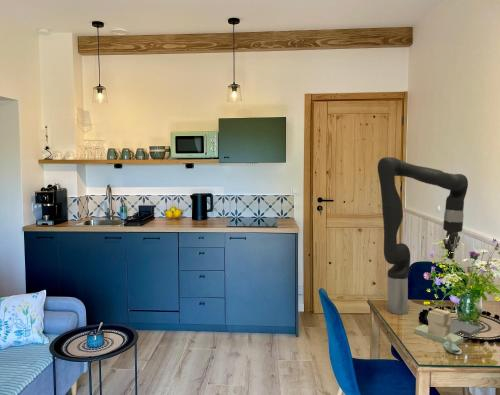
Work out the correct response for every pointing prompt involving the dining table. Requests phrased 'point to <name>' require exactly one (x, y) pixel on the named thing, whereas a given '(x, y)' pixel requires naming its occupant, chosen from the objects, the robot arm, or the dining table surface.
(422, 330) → the trap deck
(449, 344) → the pacifier
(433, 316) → the birch block
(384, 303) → the dining table surface
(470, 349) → the dining table surface
